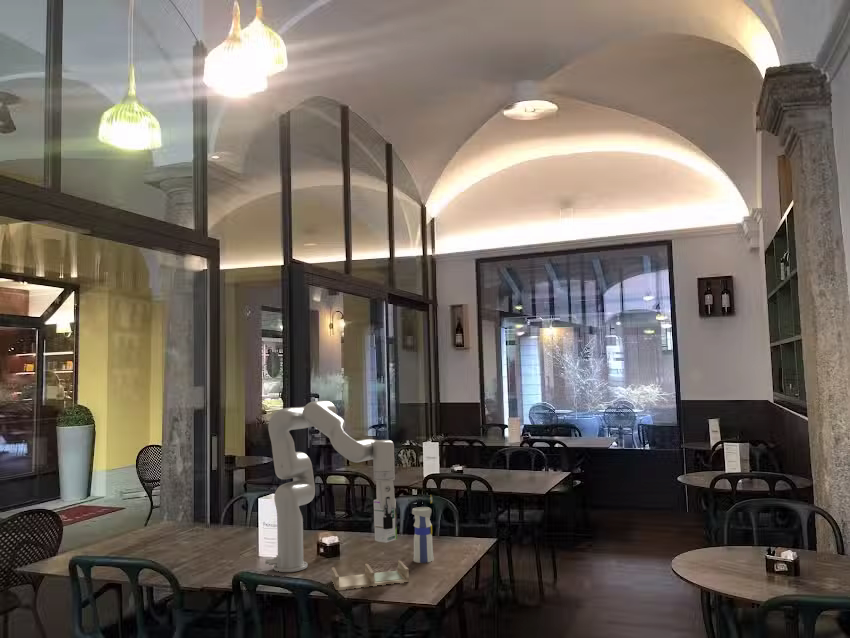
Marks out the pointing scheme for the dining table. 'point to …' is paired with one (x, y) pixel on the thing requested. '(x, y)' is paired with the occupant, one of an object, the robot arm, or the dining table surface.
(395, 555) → the dining table surface
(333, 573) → the slot rack
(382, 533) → the syrup box
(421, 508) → the water bottle
